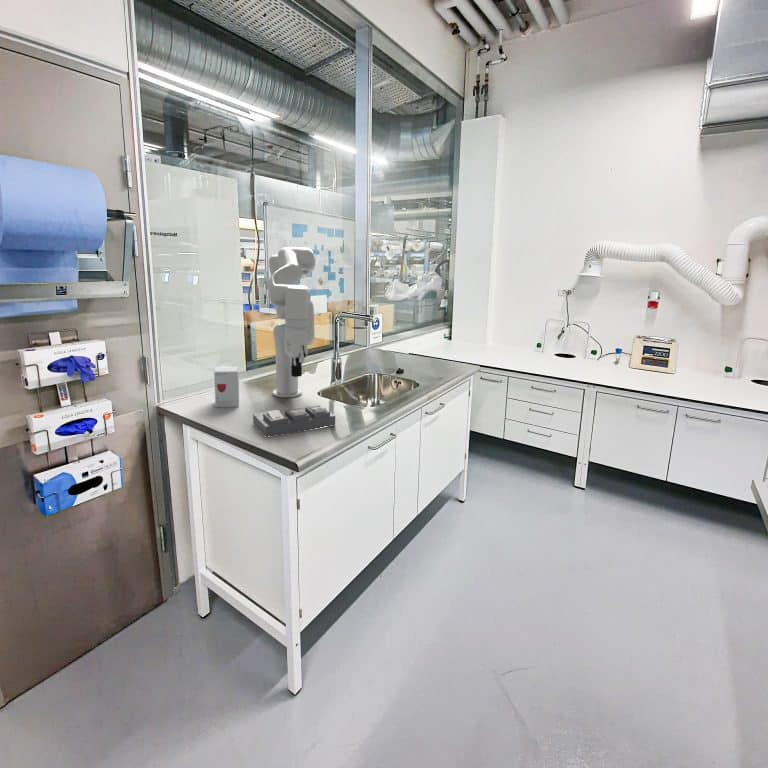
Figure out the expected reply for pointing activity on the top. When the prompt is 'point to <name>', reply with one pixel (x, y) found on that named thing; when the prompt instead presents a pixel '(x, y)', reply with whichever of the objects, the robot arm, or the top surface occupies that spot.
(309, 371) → the top surface
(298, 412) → the middle rocker
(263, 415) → the rocker switch panel
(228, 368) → the supplement box
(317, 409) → the rocker
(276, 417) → the rocker
